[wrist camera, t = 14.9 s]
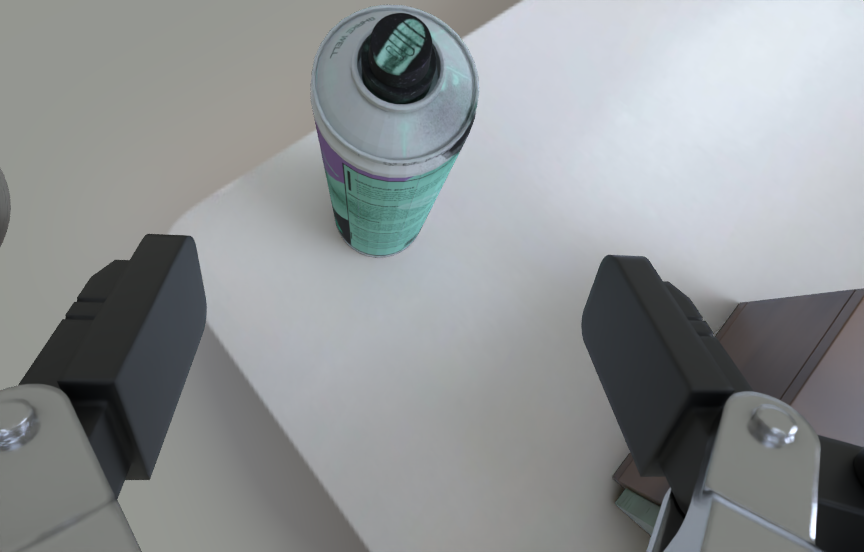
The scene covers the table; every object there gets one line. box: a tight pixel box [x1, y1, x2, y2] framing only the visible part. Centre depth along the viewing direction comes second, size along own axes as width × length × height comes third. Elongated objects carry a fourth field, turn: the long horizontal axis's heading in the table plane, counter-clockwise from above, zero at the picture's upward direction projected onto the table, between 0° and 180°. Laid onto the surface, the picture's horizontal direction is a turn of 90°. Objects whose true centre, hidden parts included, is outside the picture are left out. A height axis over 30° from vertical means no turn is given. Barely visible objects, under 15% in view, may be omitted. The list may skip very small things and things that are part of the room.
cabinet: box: [612, 288, 864, 506], centre depth 31 cm, size 15×13×10 cm
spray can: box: [311, 5, 479, 257], centre depth 25 cm, size 6×6×20 cm
